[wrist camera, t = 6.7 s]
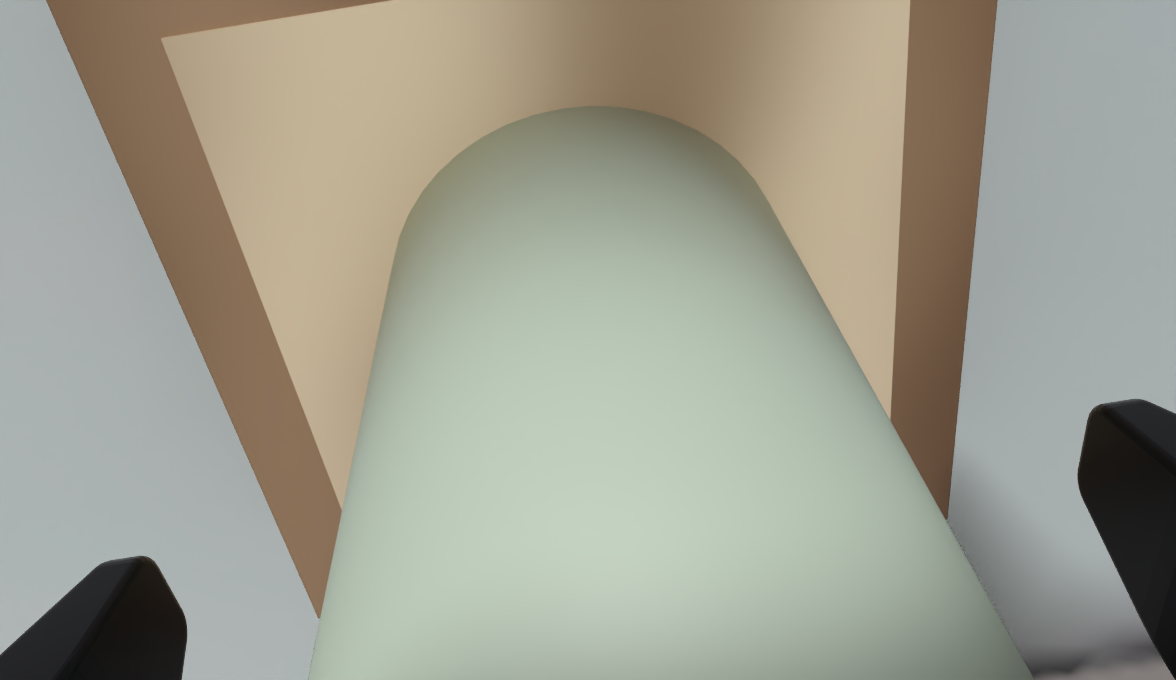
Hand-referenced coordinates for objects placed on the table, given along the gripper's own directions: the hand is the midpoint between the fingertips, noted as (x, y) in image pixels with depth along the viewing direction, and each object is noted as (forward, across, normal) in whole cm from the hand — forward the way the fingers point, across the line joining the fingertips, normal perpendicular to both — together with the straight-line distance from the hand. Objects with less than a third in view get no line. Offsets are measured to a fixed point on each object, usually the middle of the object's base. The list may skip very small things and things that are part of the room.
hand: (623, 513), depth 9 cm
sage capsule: (+4, 0, 0) cm, 4 cm away
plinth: (+6, 0, 0) cm, 6 cm away
